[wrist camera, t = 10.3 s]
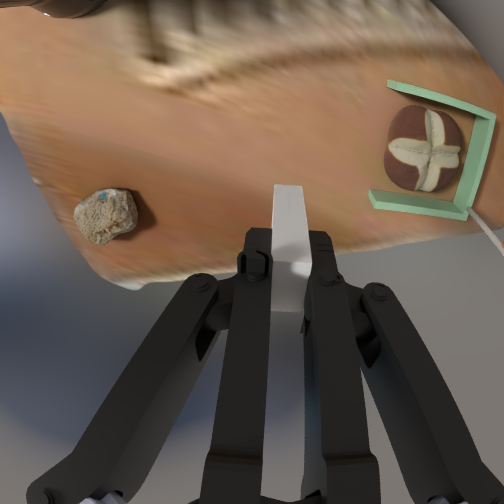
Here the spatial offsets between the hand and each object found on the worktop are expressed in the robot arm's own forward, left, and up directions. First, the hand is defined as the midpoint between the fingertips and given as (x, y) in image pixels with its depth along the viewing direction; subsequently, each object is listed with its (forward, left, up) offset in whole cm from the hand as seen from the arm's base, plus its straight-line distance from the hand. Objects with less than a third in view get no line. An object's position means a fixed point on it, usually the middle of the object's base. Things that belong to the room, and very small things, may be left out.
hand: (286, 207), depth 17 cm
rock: (+13, -25, -22) cm, 36 cm away
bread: (0, +18, -22) cm, 29 cm away
